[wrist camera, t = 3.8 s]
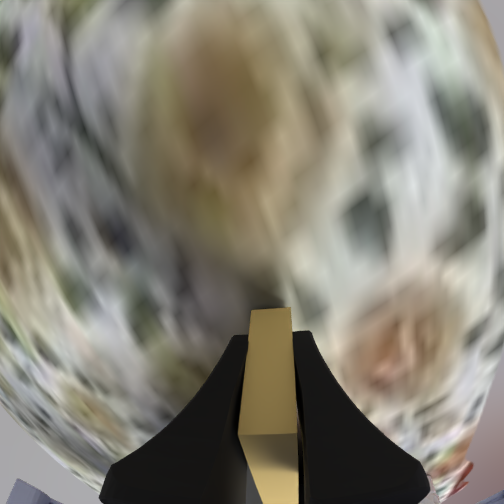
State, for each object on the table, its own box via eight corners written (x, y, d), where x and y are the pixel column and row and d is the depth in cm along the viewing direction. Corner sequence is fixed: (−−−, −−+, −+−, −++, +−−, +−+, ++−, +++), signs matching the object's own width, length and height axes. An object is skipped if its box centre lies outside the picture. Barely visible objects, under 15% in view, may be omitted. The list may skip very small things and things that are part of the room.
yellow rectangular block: (272, 438, 16) (269, 518, 11) (251, 310, 12) (237, 434, 7) (297, 437, 16) (298, 517, 11) (290, 307, 12) (297, 432, 7)
